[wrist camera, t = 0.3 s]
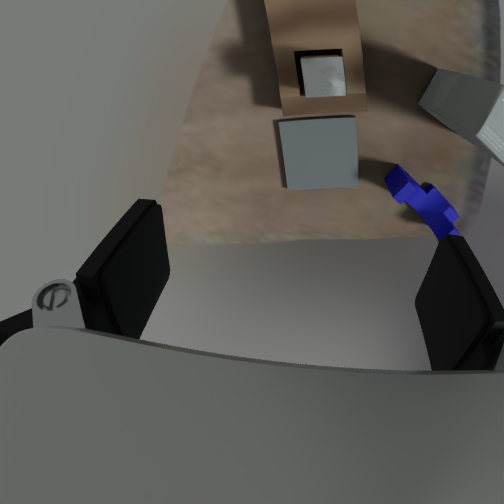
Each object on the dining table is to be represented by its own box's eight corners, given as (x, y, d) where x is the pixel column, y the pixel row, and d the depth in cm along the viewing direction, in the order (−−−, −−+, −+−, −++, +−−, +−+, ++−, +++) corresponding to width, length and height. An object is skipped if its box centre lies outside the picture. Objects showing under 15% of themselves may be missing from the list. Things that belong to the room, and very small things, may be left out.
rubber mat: (279, 120, 40) (278, 122, 40) (354, 116, 38) (355, 117, 37) (288, 188, 46) (287, 190, 45) (357, 184, 44) (358, 187, 43)
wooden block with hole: (265, -6, 30) (261, -11, 27) (347, -12, 28) (351, -18, 25) (285, 109, 39) (283, 116, 36) (361, 105, 37) (367, 111, 34)
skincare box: (415, 103, 35) (467, 139, 23) (440, 62, 31) (503, 80, 18) (460, 137, 36) (517, 187, 24) (483, 99, 32) (550, 135, 20)
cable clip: (452, 206, 43) (466, 227, 38) (433, 225, 46) (444, 247, 41) (404, 156, 40) (417, 173, 35) (383, 178, 43) (393, 197, 38)
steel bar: (301, 55, 34) (300, 59, 27) (333, 53, 34) (342, 56, 26) (305, 85, 37) (305, 97, 29) (336, 83, 36) (346, 95, 28)
